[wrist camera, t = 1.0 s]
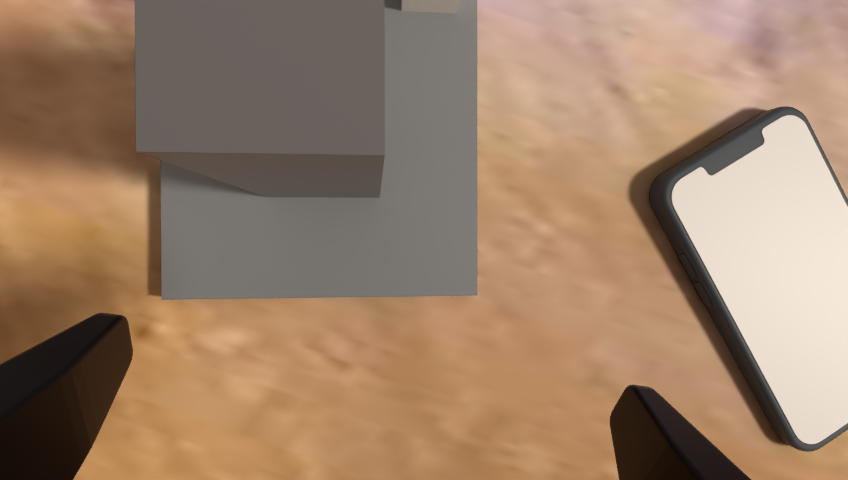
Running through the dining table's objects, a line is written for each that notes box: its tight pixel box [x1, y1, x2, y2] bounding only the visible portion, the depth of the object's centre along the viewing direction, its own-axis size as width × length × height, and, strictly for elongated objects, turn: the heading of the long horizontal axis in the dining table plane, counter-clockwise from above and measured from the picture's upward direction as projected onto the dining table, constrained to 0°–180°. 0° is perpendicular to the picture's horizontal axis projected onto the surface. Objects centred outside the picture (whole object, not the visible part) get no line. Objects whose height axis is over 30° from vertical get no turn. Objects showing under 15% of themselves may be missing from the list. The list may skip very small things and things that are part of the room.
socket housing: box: [161, 0, 477, 300], centre depth 19 cm, size 19×14×9 cm
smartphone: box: [649, 107, 848, 452], centre depth 25 cm, size 9×2×16 cm
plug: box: [135, 0, 385, 198], centre depth 16 cm, size 6×5×12 cm
